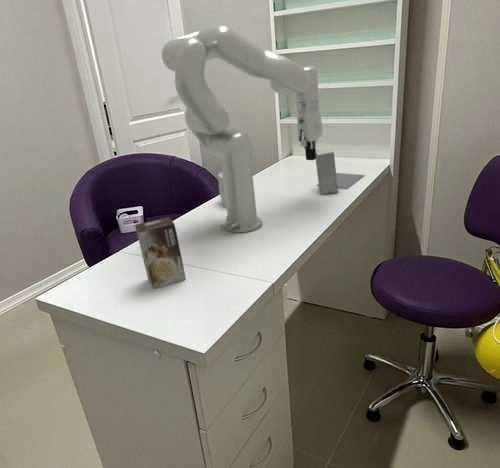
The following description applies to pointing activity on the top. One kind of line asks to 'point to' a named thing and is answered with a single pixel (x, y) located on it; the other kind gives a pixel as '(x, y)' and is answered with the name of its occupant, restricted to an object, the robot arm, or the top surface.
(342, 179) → the mat
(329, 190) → the skincare box
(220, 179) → the toilet paper roll
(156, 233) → the coffee box
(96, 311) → the top surface
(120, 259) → the top surface
